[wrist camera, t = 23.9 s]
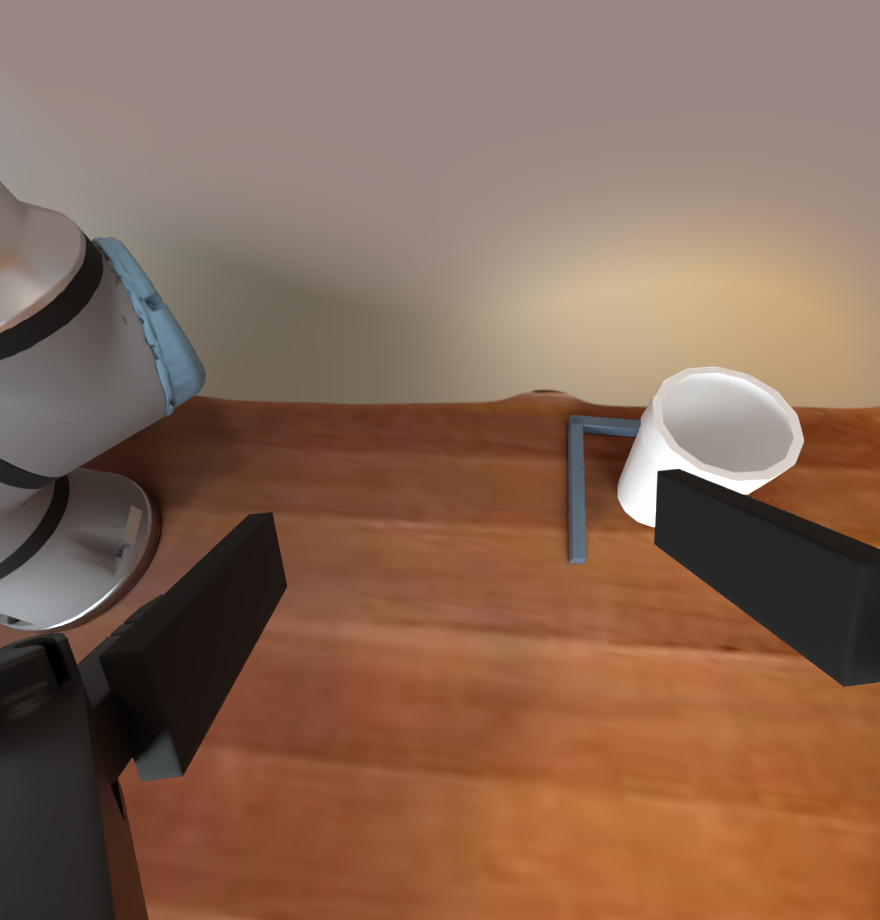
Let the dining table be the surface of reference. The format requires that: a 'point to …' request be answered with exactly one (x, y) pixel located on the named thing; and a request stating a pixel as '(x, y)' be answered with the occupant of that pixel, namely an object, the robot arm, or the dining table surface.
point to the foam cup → (710, 436)
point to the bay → (576, 472)
